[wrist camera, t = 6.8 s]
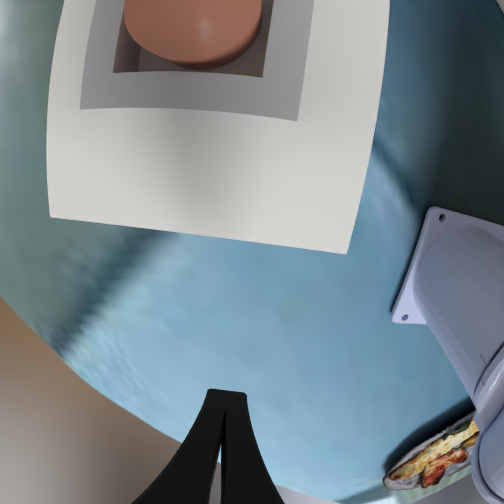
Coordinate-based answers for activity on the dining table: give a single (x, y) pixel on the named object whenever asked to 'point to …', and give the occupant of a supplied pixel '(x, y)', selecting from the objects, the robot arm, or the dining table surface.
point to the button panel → (219, 126)
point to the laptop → (501, 4)
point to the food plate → (435, 457)
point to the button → (194, 29)
